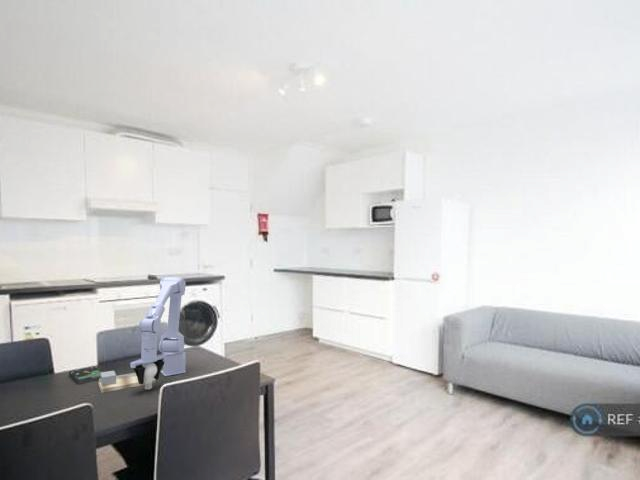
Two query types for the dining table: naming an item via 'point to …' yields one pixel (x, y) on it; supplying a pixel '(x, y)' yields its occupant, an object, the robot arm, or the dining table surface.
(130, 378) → the rail board
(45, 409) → the dining table surface
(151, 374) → the lightbulb
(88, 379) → the disk drive
